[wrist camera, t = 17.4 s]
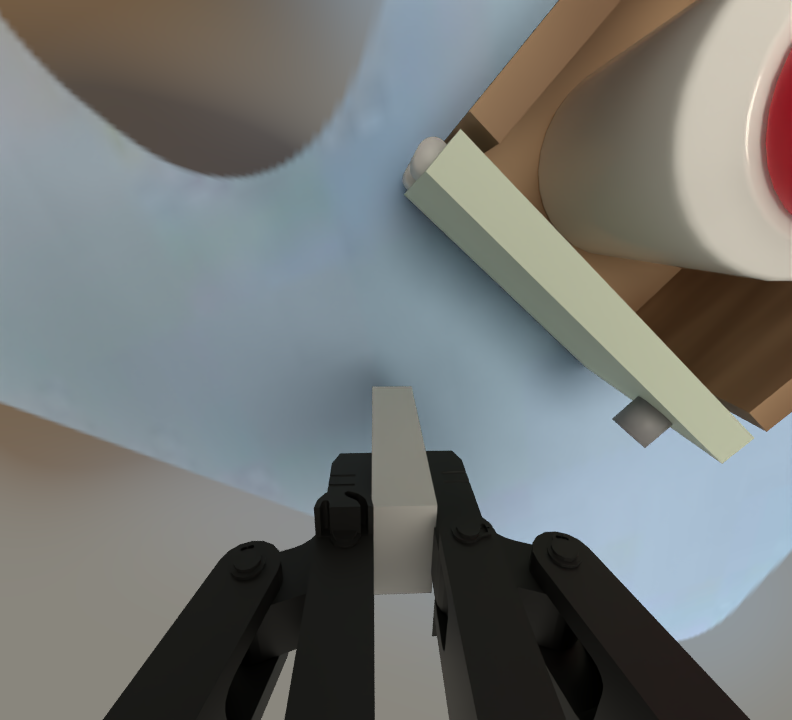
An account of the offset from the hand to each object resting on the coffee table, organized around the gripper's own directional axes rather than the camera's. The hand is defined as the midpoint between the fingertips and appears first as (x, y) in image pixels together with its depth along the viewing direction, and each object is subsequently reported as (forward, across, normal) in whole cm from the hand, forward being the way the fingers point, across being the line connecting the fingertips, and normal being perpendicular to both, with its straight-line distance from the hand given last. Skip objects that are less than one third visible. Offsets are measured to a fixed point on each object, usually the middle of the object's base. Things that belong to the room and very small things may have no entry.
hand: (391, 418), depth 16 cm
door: (+5, +5, +4) cm, 9 cm away
